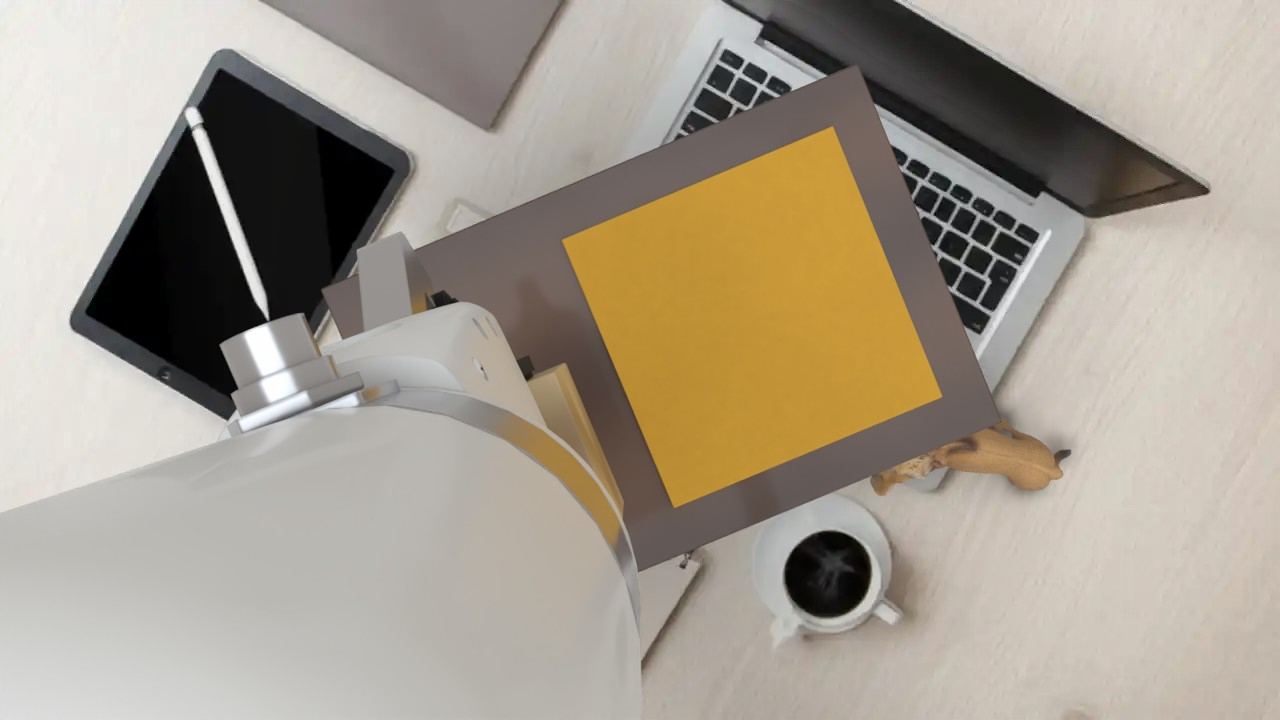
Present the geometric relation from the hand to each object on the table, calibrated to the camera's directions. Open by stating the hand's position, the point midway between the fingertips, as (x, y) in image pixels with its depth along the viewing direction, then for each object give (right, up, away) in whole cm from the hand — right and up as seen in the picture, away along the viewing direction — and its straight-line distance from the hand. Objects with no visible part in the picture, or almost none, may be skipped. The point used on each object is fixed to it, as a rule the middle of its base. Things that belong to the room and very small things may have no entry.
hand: (521, 464), depth 35 cm
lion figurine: (+24, -2, +37) cm, 44 cm away
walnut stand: (+5, +5, +36) cm, 37 cm away
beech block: (0, 0, +1) cm, 1 cm away
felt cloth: (+8, +5, +10) cm, 14 cm away
